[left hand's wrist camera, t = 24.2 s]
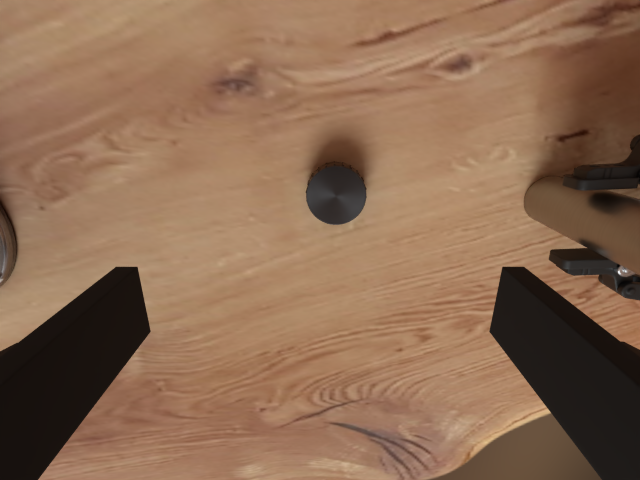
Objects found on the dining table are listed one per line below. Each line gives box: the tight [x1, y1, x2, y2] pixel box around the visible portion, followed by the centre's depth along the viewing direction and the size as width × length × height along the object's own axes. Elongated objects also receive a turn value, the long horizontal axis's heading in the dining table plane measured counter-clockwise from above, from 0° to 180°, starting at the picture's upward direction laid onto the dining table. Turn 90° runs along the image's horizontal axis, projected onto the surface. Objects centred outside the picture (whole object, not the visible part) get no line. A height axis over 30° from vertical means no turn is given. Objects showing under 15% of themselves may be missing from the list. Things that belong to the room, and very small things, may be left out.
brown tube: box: [524, 176, 640, 275], centre depth 23 cm, size 4×4×18 cm
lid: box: [306, 162, 366, 225], centre depth 30 cm, size 5×5×2 cm
